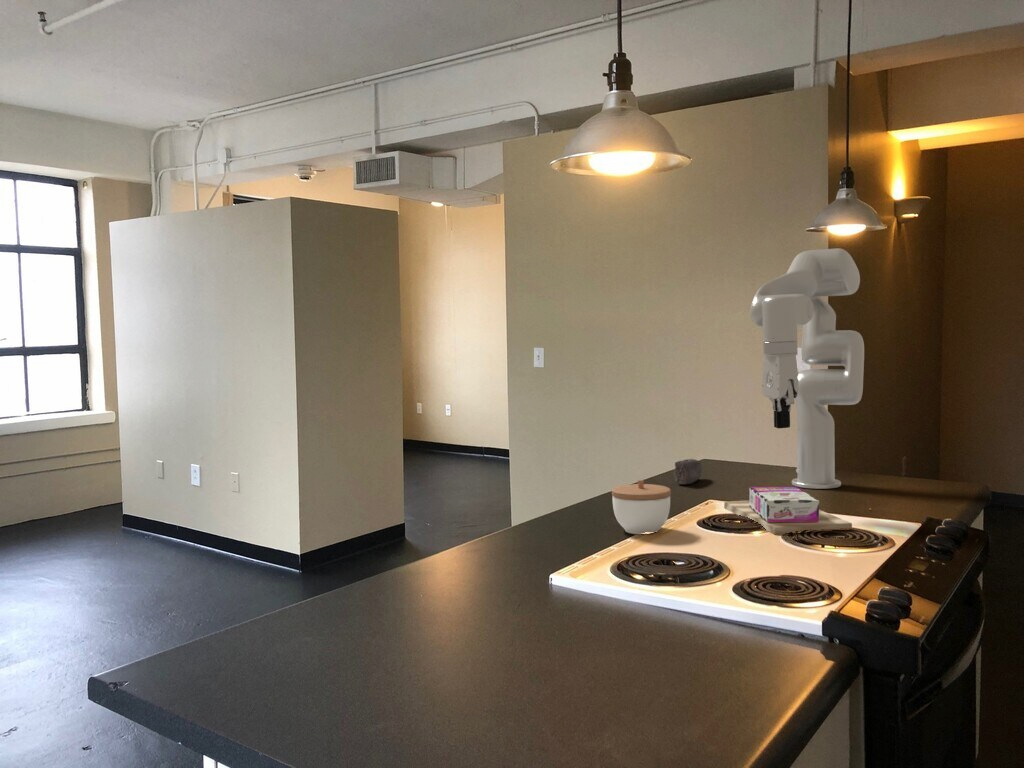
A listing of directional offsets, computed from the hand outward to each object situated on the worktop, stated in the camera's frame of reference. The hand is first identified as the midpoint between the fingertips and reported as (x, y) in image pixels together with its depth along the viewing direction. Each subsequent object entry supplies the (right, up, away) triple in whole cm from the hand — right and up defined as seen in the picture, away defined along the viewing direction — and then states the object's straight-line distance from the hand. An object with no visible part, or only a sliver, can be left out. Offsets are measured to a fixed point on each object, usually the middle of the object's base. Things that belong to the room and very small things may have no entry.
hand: (782, 427), depth 193 cm
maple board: (-2, -20, -7) cm, 21 cm away
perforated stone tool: (-13, -18, +42) cm, 47 cm away
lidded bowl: (-35, -22, -15) cm, 44 cm away
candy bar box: (-3, -16, -2) cm, 16 cm away
